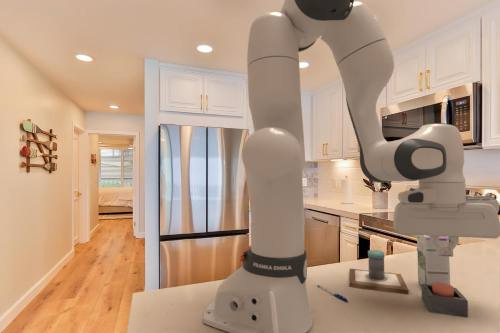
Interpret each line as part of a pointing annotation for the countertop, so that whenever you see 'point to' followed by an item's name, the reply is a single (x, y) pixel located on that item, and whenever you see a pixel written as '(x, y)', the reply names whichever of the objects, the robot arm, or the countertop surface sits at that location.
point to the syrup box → (432, 261)
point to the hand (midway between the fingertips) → (444, 255)
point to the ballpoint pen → (334, 294)
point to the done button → (442, 289)
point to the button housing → (445, 302)
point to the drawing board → (378, 282)
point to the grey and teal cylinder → (376, 264)
